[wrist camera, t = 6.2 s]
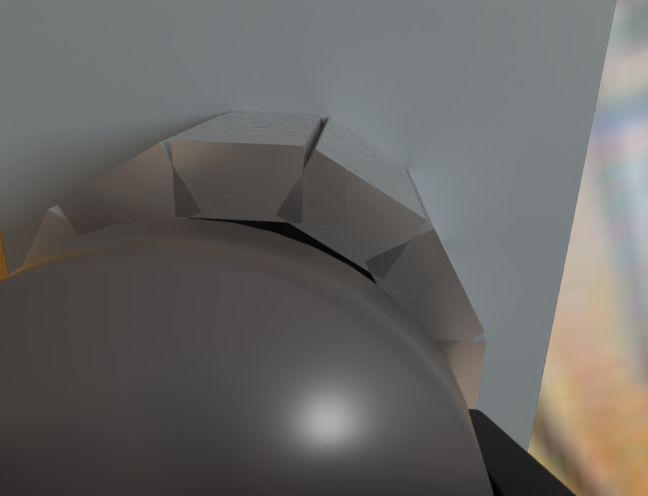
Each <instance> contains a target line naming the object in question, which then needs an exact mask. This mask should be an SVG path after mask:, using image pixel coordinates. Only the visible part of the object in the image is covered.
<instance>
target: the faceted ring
mask: <svg viewBox="0 0 648 496" xmlns="http://www.w3.org/2000/svg"><path fill="white" fill-rule="evenodd" d="M321 123H322V114H306V113H281V112H257V111H232V112H230V113H228V114H227V113H224V114H222V115H219V116H217V117H215V118H213V119H211V120H208V121H206V122H204V123H202V124H199V125H197V126H195V127H193V128H191V129H188V130H186V131H184V132H182V133H179V134H177V135H175V136H173V137H171V138H168V139H166V140H164V141H162V142H160V143H158V144H156V145H154V146H152V147H151V148H149V149H147V150H145V151H144V152H142V153H140V154H138V155H137V156H135V157H133V158H131V159H129V160H128V161H126V162H124V163H122V164H121V165H119V166H117V167H115V168H114V169H112V170H110V171H108V172H107V173H105V174H103V175H101V176H100V177H98V178H96V179H94V180H93V181H91V182H89V183H87V184H85V185H84V186H82V187H80V188H78V189H77V190H75V191H73V192H71V193H70V194H68V195H66V196H64V197H63V198H61V199H59V200H57V201H56V203H57V205H56V206H54V207H52V208H50V209H48V211H47V213H46V215H45V217H44V220H43V222H42V224H41V226H40V228H39V230H38V233H37V235H36V237H35V239H34V241H33V244H32V246H31V248H30V250H29V252H28V255H27V257H26V259H25V261H24V263H23V265H25V264H26V263H28V262H30V261H31V260H33V259H34V258H36V257H38V256H39V255H41V254H42V253H44V252H45V251H47V250H49V249H51V248H54V247H56V246H58V245H60V244H62V243H64V242H67V241H69V240H71V239H73V238H75V237H78V236H80V235H83V234H87V233H90V232H93V231H97V230H100V229H104V228H107V227H111V226H114V225H119V224H126V223H133V222H139V221H146V220H153V219H187V218H189V217H191V218H211V219H232V220H252V221H272V222H288V223H290V224H291V225H293V226H295V227H296V228H298V229H300V230H301V231H303V232H305V233H306V234H308V235H309V236H311V237H313V238H314V239H316V240H318V241H319V242H321V243H323V244H324V245H326V246H328V247H329V248H331V249H332V250H334V251H336V252H337V253H339V254H341V255H342V256H344V257H346V258H347V259H349V260H351V261H352V262H354V263H355V264H357V265H359V266H360V267H362V268H364V269H365V270H367V271H369V272H370V273H371V274H372V276H373V278H374V280H375V281H376V283H377V285H378V286H380V287H381V288H383V289H384V290H385V291H386V292H387V293H388V294H389V295H390V296H391V297H393V298H394V299H395V300H396V301H397V302H398V303H399V304H400V305H401V306H402V307H404V308H405V309H406V310H407V311H408V312H409V313H410V314H411V315H412V316H413V317H414V318H415V320H416V321H417V322H418V323H419V324H420V326H421V327H422V328H423V329H424V330H425V332H426V333H427V334H428V335H429V336H430V337H431V339H432V340H433V341H434V342H435V344H436V345H437V347H438V349H439V350H440V352H441V353H442V355H443V357H444V358H445V360H446V361H447V363H448V365H449V366H450V368H451V369H452V371H453V373H454V376H455V378H456V380H457V382H458V385H459V387H460V389H461V392H462V394H463V396H464V399H465V401H466V404H467V407H468V409H476V407H477V400H478V394H479V387H480V380H481V374H482V367H483V361H484V354H485V348H486V340H485V338H484V336H483V334H482V333H484V332H485V331H484V329H483V327H482V325H481V323H480V320H479V318H478V316H477V314H476V312H475V310H474V307H473V305H472V303H471V301H470V299H469V297H468V294H467V292H466V290H465V288H464V286H463V284H462V281H461V279H460V277H459V275H458V273H457V271H456V268H455V266H454V264H453V262H452V260H451V258H450V255H449V253H448V251H447V249H446V247H445V245H444V242H443V240H442V238H441V236H440V234H439V232H438V230H437V228H436V226H435V224H434V222H433V220H432V218H431V216H430V214H429V212H428V210H427V207H426V205H425V203H424V201H423V199H422V197H421V195H420V193H419V191H418V189H417V187H416V185H415V183H414V181H413V179H412V177H411V175H410V173H409V170H407V171H406V170H405V168H404V165H403V164H402V163H401V162H399V161H398V160H396V159H394V158H393V157H391V156H390V155H388V154H387V153H385V152H384V151H382V150H380V149H379V148H377V147H376V146H374V145H373V144H371V143H370V142H368V141H367V140H365V139H363V138H362V137H360V136H359V135H357V134H356V133H354V132H353V131H351V130H350V129H348V128H346V127H345V126H343V125H342V124H340V123H339V122H337V121H336V120H334V119H333V118H331V117H329V119H328V120H327V122H326V124H325V125H324V127H323V129H322V130H321Z"/></svg>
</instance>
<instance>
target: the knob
mask: <svg viewBox="0 0 648 496" xmlns="http://www.w3.org/2000/svg"><path fill="white" fill-rule="evenodd" d="M0 496H494V494H493V491H492V487H491V484H490V481H489V477H488V474H487V471H486V467H485V464H484V461H483V457H482V454H481V451H480V447H479V444H478V441H477V437H476V434H475V431H474V427H473V424H472V421H471V417H470V414H469V411H468V407H467V404H466V401H465V399H464V396H463V394H462V392H461V389H460V387H459V385H458V382H457V380H456V378H455V376H454V373H453V371H452V369H451V368H450V366H449V365H448V363H447V361H446V360H445V358H444V357H443V355H442V353H441V352H440V350H439V349H438V347H437V345H436V344H435V342H434V341H433V340H432V339H431V337H430V336H429V335H428V334H427V333H426V332H425V330H424V329H423V328H422V327H421V326H420V324H419V323H418V322H417V321H416V320H415V318H414V317H413V316H412V315H411V314H410V313H409V312H408V311H407V310H406V309H405V308H404V307H402V306H401V305H400V304H399V303H398V302H397V301H396V300H395V299H394V298H393V297H391V296H390V295H389V294H388V293H387V292H386V291H385V290H384V289H383V288H381V287H380V286H378V285H377V284H375V283H374V282H372V281H371V280H370V279H368V278H367V277H365V276H364V275H362V274H361V273H359V272H358V271H357V270H355V269H354V268H352V267H351V266H349V265H347V264H345V263H343V262H342V261H340V260H338V259H336V258H334V257H332V256H330V255H328V254H326V253H324V252H322V251H320V250H318V249H317V248H315V247H312V246H310V245H307V244H304V243H301V242H299V241H296V240H293V239H291V238H288V237H285V236H283V235H280V234H277V233H274V232H270V231H266V230H262V229H258V228H253V227H249V226H245V225H241V224H237V223H229V222H220V221H211V220H202V219H153V220H146V221H139V222H133V223H126V224H119V225H114V226H111V227H107V228H104V229H100V230H97V231H93V232H90V233H87V234H83V235H80V236H78V237H75V238H73V239H71V240H69V241H67V242H64V243H62V244H60V245H58V246H56V247H54V248H51V249H49V250H47V251H45V252H44V253H42V254H41V255H39V256H38V257H36V258H34V259H33V260H31V261H30V262H28V263H26V264H25V265H23V266H22V267H20V268H18V269H17V270H15V271H14V272H12V273H11V274H9V275H7V276H6V277H4V278H3V279H1V280H0Z"/></svg>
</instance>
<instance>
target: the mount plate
mask: <svg viewBox="0 0 648 496" xmlns="http://www.w3.org/2000/svg"><path fill="white" fill-rule="evenodd" d="M615 5H616V0H0V229H1V235H2V241H3V247H4V252H5V258H6V264H7V270H8V275H9V274H11V273H12V272H14V271H15V270H17V269H18V268H20V267H22V266H23V263H24V261H25V259H26V257H27V255H28V252H29V250H30V248H31V246H32V244H33V241H34V239H35V237H36V235H37V233H38V230H39V228H40V226H41V224H42V222H43V220H44V217H45V215H46V213H47V211H48V209H50V208H52V207H54V206H56V205H57V203H56V201H57V200H59V199H61V198H63V197H64V196H66V195H68V194H70V193H71V192H73V191H75V190H77V189H78V188H80V187H82V186H84V185H85V184H87V183H89V182H91V181H93V180H94V179H96V178H98V177H100V176H101V175H103V174H105V173H107V172H108V171H110V170H112V169H114V168H115V167H117V166H119V165H121V164H122V163H124V162H126V161H128V160H129V159H131V158H133V157H135V156H137V155H138V154H140V153H142V152H144V151H145V150H147V149H149V148H151V147H152V146H154V145H156V144H158V143H160V142H162V141H164V140H166V139H168V138H171V137H173V136H175V135H177V134H179V133H182V132H184V131H186V130H188V129H191V128H193V127H195V126H197V125H199V124H202V123H204V122H206V121H208V120H211V119H213V118H215V117H217V116H219V115H222V114H224V113H227V114H228V113H230V112H232V111H257V112H281V113H306V114H322V123H321V130H322V129H323V127H324V125H325V124H326V122H327V120H328V119H329V117H331V118H333V119H334V120H336V121H337V122H339V123H340V124H342V125H343V126H345V127H346V128H348V129H350V130H351V131H353V132H354V133H356V134H357V135H359V136H360V137H362V138H363V139H365V140H367V141H368V142H370V143H371V144H373V145H374V146H376V147H377V148H379V149H380V150H382V151H384V152H385V153H387V154H388V155H390V156H391V157H393V158H394V159H396V160H398V161H399V162H401V163H402V164H403V165H404V168H405V170H406V171H407V170H409V173H410V175H411V177H412V179H413V181H414V183H415V185H416V187H417V189H418V191H419V193H420V195H421V197H422V199H423V201H424V203H425V205H426V207H427V210H428V212H429V214H430V216H431V218H432V220H433V222H434V224H435V226H436V228H437V230H438V232H439V234H440V236H441V238H442V240H443V242H444V245H445V247H446V249H447V251H448V253H449V255H450V258H451V260H452V262H453V264H454V266H455V268H456V271H457V273H458V275H459V277H460V279H461V281H462V284H463V286H464V288H465V290H466V292H467V294H468V297H469V299H470V301H471V303H472V305H473V307H474V310H475V312H476V314H477V316H478V318H479V320H480V323H481V325H482V327H483V329H484V331H485V332H484V333H482V334H483V336H484V338H485V340H486V348H485V354H484V361H483V367H482V374H481V380H480V387H479V394H478V400H477V407H476V409H478V410H480V411H482V412H483V413H484V414H485V415H486V416H488V417H489V418H490V419H491V420H492V421H493V422H494V423H495V424H497V425H498V426H499V427H500V428H501V429H502V430H503V431H504V432H506V433H507V434H508V435H509V436H510V437H511V438H512V439H513V440H515V441H516V442H517V443H518V444H519V445H520V446H521V447H523V448H524V449H525V450H526V451H527V452H528V448H529V442H530V437H531V432H532V427H533V422H534V417H535V412H536V407H537V402H538V397H539V392H540V387H541V381H542V376H543V371H544V366H545V361H546V356H547V351H548V346H549V341H550V336H551V331H552V326H553V320H554V315H555V310H556V305H557V300H558V295H559V290H560V285H561V280H562V275H563V270H564V264H565V259H566V254H567V249H568V244H569V239H570V234H571V229H572V224H573V219H574V214H575V209H576V203H577V198H578V193H579V188H580V183H581V178H582V173H583V168H584V163H585V158H586V153H587V148H588V142H589V137H590V132H591V127H592V122H593V117H594V112H595V107H596V102H597V97H598V92H599V86H600V81H601V76H602V71H603V66H604V61H605V56H606V51H607V46H608V41H609V36H610V31H611V25H612V20H613V15H614V10H615ZM187 219H202V220H211V221H220V222H229V223H237V224H241V225H245V226H249V227H253V228H258V229H262V230H266V231H270V232H274V233H277V234H280V235H283V236H285V237H288V238H291V239H293V240H296V241H299V242H301V243H304V244H307V245H310V246H312V247H315V248H317V249H318V250H320V251H322V252H324V253H326V254H328V255H330V256H332V257H334V258H336V259H338V260H340V261H342V262H343V263H345V264H347V265H349V266H351V267H352V268H354V269H355V270H357V271H358V272H359V273H361V274H362V275H364V276H365V277H367V278H368V279H370V280H371V281H372V282H374V283H375V284H377V283H376V281H375V280H374V278H373V276H372V274H371V273H370V272H369V271H367V270H365V269H364V268H362V267H360V266H359V265H357V264H355V263H354V262H352V261H351V260H349V259H347V258H346V257H344V256H342V255H341V254H339V253H337V252H336V251H334V250H332V249H331V248H329V247H328V246H326V245H324V244H323V243H321V242H319V241H318V240H316V239H314V238H313V237H311V236H309V235H308V234H306V233H305V232H303V231H301V230H300V229H298V228H296V227H295V226H293V225H291V224H290V223H288V222H272V221H252V220H232V219H211V218H191V217H189V218H187Z"/></svg>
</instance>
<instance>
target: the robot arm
mask: <svg viewBox="0 0 648 496" xmlns="http://www.w3.org/2000/svg"><path fill="white" fill-rule="evenodd" d="M468 411H469V414H470V417H471V421H472V424H473V427H474V431H475V434H476V437H477V441H478V444H479V447H480V451H481V454H482V457H483V461H484V464H485V467H486V471H487V474H488V477H489V481H490V484H491V487H492V491H493V494H494V496H577V495H576V494H574V493H573V492H572V491H571V490H570V489H569V488H568V487H567V486H565V485H564V484H563V483H562V482H561V481H560V480H559V479H557V478H556V477H555V476H554V475H553V474H552V473H551V472H550V471H548V470H547V469H546V468H545V467H544V466H543V465H542V464H541V463H539V462H538V461H537V460H536V459H535V458H534V457H533V456H532V455H530V454H529V453H528V452H527V451H526V450H525V449H524V448H523V447H521V446H520V445H519V444H518V443H517V442H516V441H515V440H513V439H512V438H511V437H510V436H509V435H508V434H507V433H506V432H504V431H503V430H502V429H501V428H500V427H499V426H498V425H497V424H495V423H494V422H493V421H492V420H491V419H490V418H489V417H488V416H486V415H485V414H484V413H483V412H482V411H480V410H478V409H468Z"/></svg>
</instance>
